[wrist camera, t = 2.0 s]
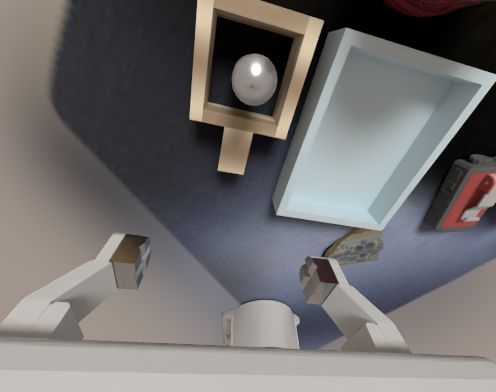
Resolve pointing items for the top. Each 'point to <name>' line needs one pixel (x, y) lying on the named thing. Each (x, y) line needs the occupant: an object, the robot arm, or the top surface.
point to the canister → (428, 6)
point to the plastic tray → (372, 129)
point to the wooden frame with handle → (305, 39)
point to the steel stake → (254, 79)
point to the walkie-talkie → (464, 194)
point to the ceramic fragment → (356, 247)
